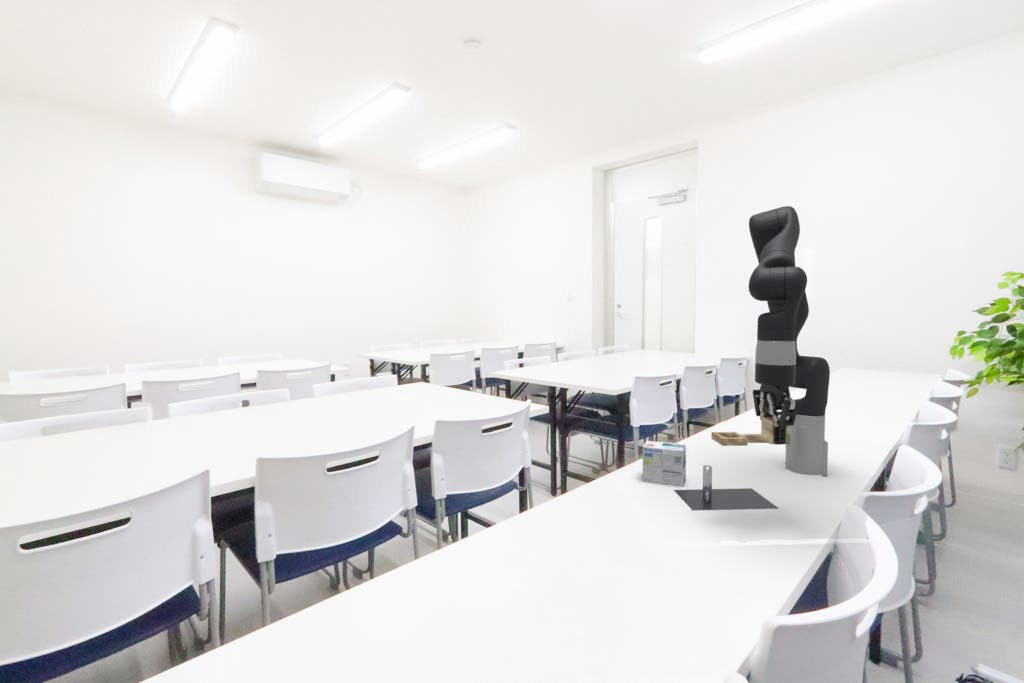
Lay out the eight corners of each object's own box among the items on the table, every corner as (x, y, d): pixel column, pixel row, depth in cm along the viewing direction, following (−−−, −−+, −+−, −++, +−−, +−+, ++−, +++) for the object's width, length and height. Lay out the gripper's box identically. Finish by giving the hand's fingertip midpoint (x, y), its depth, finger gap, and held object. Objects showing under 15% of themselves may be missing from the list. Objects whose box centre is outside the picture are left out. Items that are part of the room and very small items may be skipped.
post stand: (751, 492, 118) (752, 457, 118) (779, 512, 106) (779, 474, 106) (673, 493, 118) (673, 459, 117) (692, 514, 106) (692, 476, 105)
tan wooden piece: (777, 438, 102) (778, 415, 102) (792, 445, 97) (792, 421, 96) (711, 438, 102) (711, 416, 102) (722, 445, 97) (722, 422, 96)
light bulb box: (686, 482, 126) (686, 443, 125) (684, 491, 120) (684, 450, 119) (645, 477, 130) (646, 439, 130) (641, 485, 124) (642, 445, 123)
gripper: (814, 365, 91) (812, 450, 92) (774, 358, 105) (772, 432, 106) (776, 365, 91) (774, 451, 92) (741, 358, 105) (739, 432, 106)
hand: (773, 440), depth 99 cm, fingers closed on tan wooden piece, 4 cm apart
